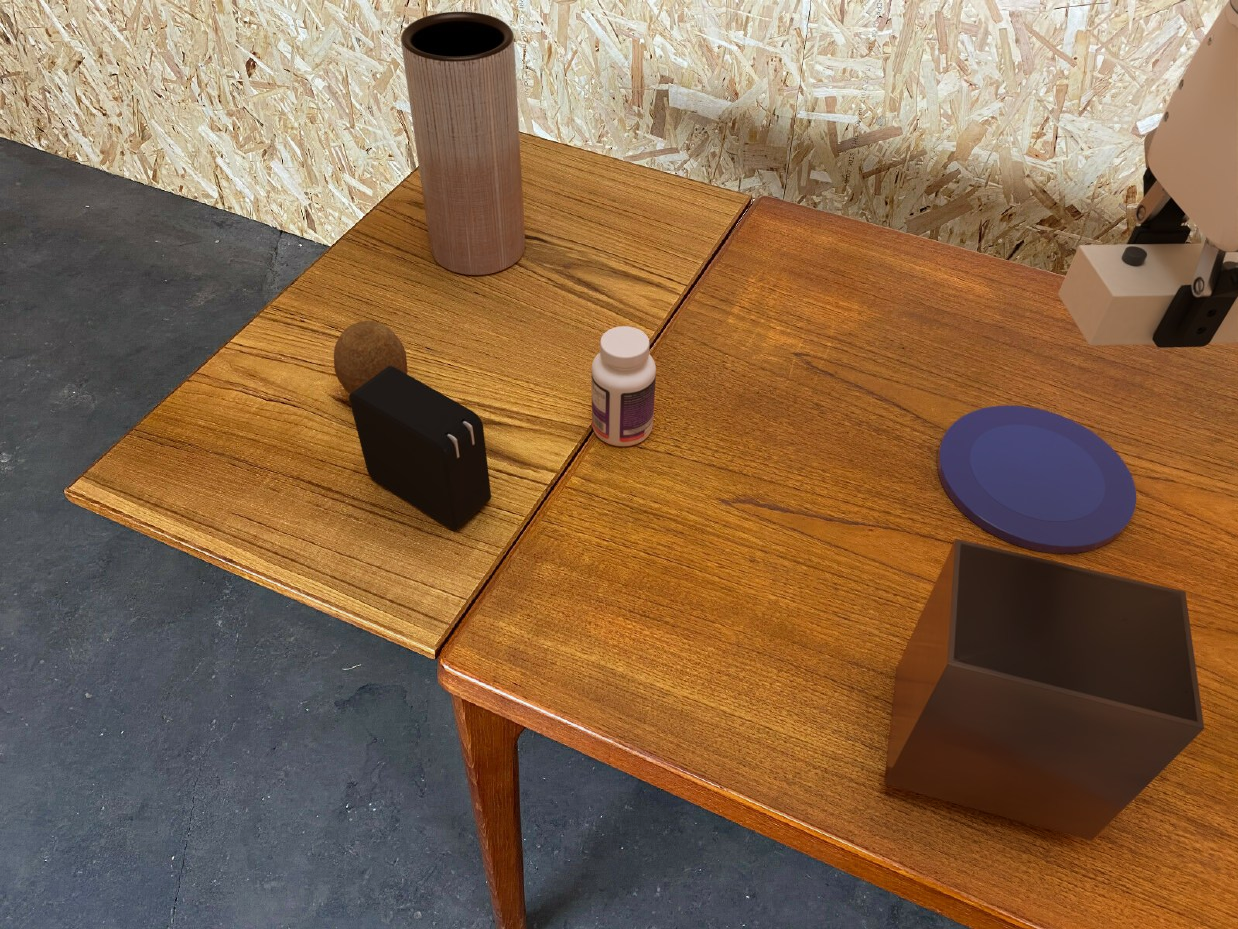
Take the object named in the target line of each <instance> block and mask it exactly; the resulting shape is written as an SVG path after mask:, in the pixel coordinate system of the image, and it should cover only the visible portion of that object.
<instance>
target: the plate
mask: <svg viewBox="0 0 1238 929" xmlns="http://www.w3.org/2000/svg"><path fill="white" fill-rule="evenodd" d="M936 468H937V473H938V478H939V480H940V482H941V486H942V487H943V489H944V491H945V493H946V495H947V497H949V499H950V500H951V502H952V503H953V504H954V505H955V507H956V508H957V509H958V510H959V512H961V513H962V514H963V515H964V516H966V518H967V519H969V520H970V521H971V522H972V523H974V524H975V525H976V526H977V527H979V528H981V529H982V530H983V531H985V532H987V533H988V534H990V535H992V536H994V537H995V538H998V539H1000V540H1002V541H1004V542H1006V543H1009V544H1012V545H1015V546H1017V547H1020V548H1023V549H1028V550H1031V551H1036V552H1041V553H1047V554H1058V555H1064V554H1066V555H1069V554H1079V553H1086V552H1089V551H1094V550H1096V549H1099V548H1101V547H1103V546H1106V545H1108V544H1109V543H1111V542H1113V541H1114V540H1116V539H1117V538H1118V537H1119V536H1120V535H1121V534H1122V533H1123V532H1124V530H1125V529H1126V528H1127V526H1128V524H1129V523H1130V521H1131V520H1132V518H1133V516H1134V515H1135V514H1134V513H1135V511H1136V505H1137V490H1136V489H1137V488H1136V483H1135V481H1134V478H1133V476H1132V473H1131V472H1130V470H1129V468H1128V466H1127V464H1126V463H1125V461H1124V460H1123V459H1122V457H1121V455H1119V453H1117V452H1116V451H1115V449H1114V448H1113V447H1112V446H1110V444H1108V443H1107V441H1105V440H1104V439H1103V438H1101V437H1100V436H1099V435H1097V434H1096V433H1094V431H1091V430H1090V429H1089V428H1087V427H1085V426H1084V425H1083V424H1080V423H1078V422H1076V421H1074V420H1072V419H1070V418H1068V417H1065V416H1063V415H1061V414H1057V413H1055V412H1052V411H1048V410H1045V409H1040V408H1036V407H1030V406H1023V405H1014V404H1013V405H1010V404H1009V405H995V406H987V407H983V408H979V409H976V410H973V411H970V412H968V413H966V414H964V415H963V416H961V417H959V418H958V419H957V420H956V421H954V422H953V423H952V424H951V425H950V426H949V427H948V428H947V430H946V432H945V433H944V434H943V436H942V439H941V441H940V444H939V447H938V450H937V455H936Z"/></svg>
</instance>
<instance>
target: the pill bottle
mask: <svg viewBox="0 0 1238 929" xmlns="http://www.w3.org/2000/svg"><path fill="white" fill-rule="evenodd" d="M590 374H591V426H592V430H593V432H594V434H595V435H596V437H597V438H598V439H600V440H601V441H602V442H604V443H606V444H609V445H611V446H614V447H615V446H616V447H631V446H635V445H637V444H639V443H642V442H643V441H645V440H646V439H647V438H648V437H649V436H650V434H651V433H652V430H653V427H654V416H655V414H654V413H655V396H656V395H655V394H656V381H657V380H656V378H657V366H656V362H655V360H654V358H653V356H652V355H651V353H650V339H649V336H648V335H647V334H646V333H645V332H644V331H643V330H642V329H639V328H637V327H633V326H629V325H623V326H622V325H621V326H615V327H612V328H610V329H607V330H606V331H605V332H603V334H602V335H601V338H600V344H599V352H598V353H597V354H596V355H595V357H594V358H593V361H592V364H591V373H590Z"/></svg>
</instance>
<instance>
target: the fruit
mask: <svg viewBox="0 0 1238 929" xmlns="http://www.w3.org/2000/svg"><path fill="white" fill-rule="evenodd" d="M407 359H408V358H407V352H406V349H405V346H404V345H403V343H402V341H401V339H400V338H399V337H398V335H396V333H395V332H394V331H393V330H392V329H391V328H390V327H388V326H387V325H384V324H382V323H380V322H378V321H373V320H363V321H358V322H355V323H352V324H350V325H349V326H348V327H346V328H345V329H344V330H343V331H342V332H341V333H340V335H339V337H338V338H337V340H336V342H335V345H334V348H333V367H334V368H333V369H334V373H335V375H336V376H335V377H336V378H337V380H338V382H339V383H340V385H341V386H342V387H343V389H344V390H345V391H346V392H347V394H348V395H350V394H351V393H352V392H354V391H355V390H356V389H358V388H359V387H360V386H362V385H363V384H364V383H366V382H367V381H369V380H370V379H371V378H373V377H374V376H375V375H377V374H378V373H379V372H381V371H382V370H384V369H385V368H386V367H388V366H393V367H395V368H397V369H398V370H400V371H402V372H404V373H406V374H407V375H408V361H407Z"/></svg>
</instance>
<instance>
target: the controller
mask: <svg viewBox="0 0 1238 929" xmlns="http://www.w3.org/2000/svg"><path fill="white" fill-rule="evenodd" d="M1204 243H1205V242H1203V243H1185V244H1127V243H1126V244H1079V245H1078V246H1077V249H1076V251H1075V253H1074V256H1073V259H1072V261H1071V263H1070V265H1069V267H1068V270H1067V272H1066V274H1065V276H1064V279H1063V282H1062V283H1061V285H1060V288H1059V290H1058V293H1057V296H1058V297H1059V299H1060V301H1061V302H1062V303H1063V305H1064V307H1065V309H1066V310H1067V312H1068V313H1069V315H1070V317H1071V318H1072V320H1073V322H1074V323H1075V324H1076V326H1077V328H1078V330H1079V331H1080V333H1081V334H1082V336H1083V338H1084V339H1085V340H1086V342H1087V344H1088V346H1091V347H1094V346H1096V347H1097V346H1098V347H1099V346H1100V347H1101V346H1140V345H1141V346H1143V345H1144V346H1147V345H1148V346H1149V345H1151V346H1152V345H1156V344H1155V343H1154V342H1153V340H1152V338H1153V335H1154V333H1155V331H1156V329H1157V327H1158V325H1159V324H1160V322H1161V320H1162V318H1163V316H1164V315H1165V313H1166V311H1167V309H1168V307H1169V305H1170V304H1171V302H1172V300H1173V298H1174V296H1175V294H1176V293H1177V291H1178V289H1179V288H1180V287H1181V285H1191V284H1192V280H1193V277H1194V274H1195V271H1196V268H1197V265H1198V262H1199V259H1200V255H1201V252H1202V249H1203V246H1204ZM1237 262H1238V252H1226V255H1225V258H1224V261H1223V264H1222V268H1221V271H1224V270H1228V269H1232V268H1236V265H1237ZM1209 344H1238V297H1237V299H1236V300H1235V302H1234V304H1233V305H1232V307H1231V309H1230V310H1229V312H1228V314H1227V315H1226V317H1225V319H1224V320H1223V322H1222V324H1221V325H1220V327H1219V328H1218V330H1217V332H1216V333H1215V335H1214V337H1213V338H1212V340H1211V342H1210V343H1209Z"/></svg>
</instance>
